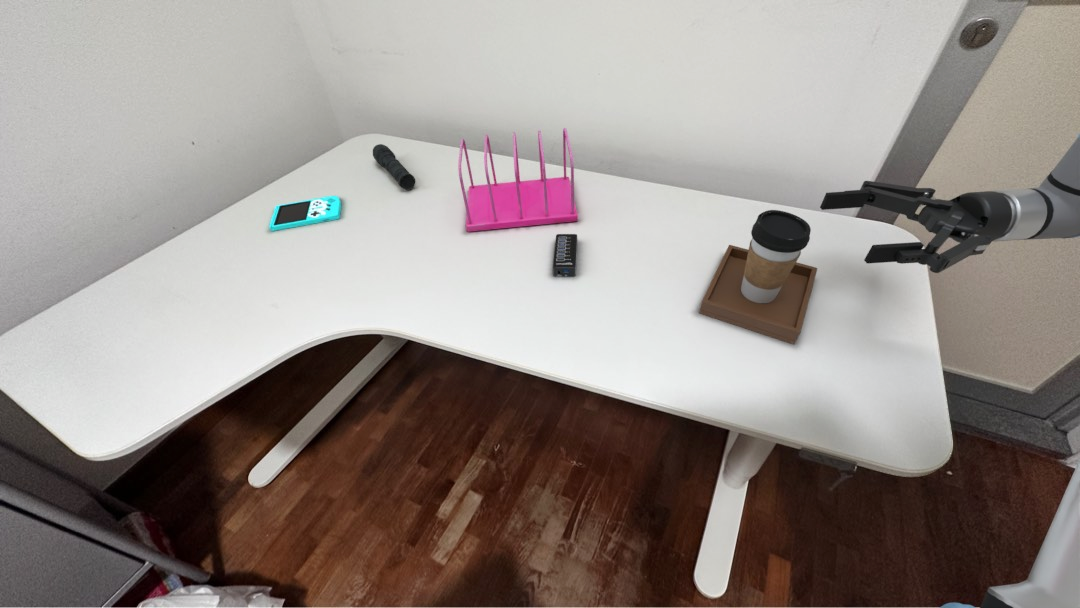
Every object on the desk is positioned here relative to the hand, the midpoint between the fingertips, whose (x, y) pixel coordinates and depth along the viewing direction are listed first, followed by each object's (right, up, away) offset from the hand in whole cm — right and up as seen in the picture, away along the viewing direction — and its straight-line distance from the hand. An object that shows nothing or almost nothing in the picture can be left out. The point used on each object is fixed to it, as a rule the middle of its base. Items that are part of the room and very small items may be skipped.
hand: (844, 226), depth 68 cm
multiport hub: (-40, -3, +25) cm, 48 cm away
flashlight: (-85, +23, +55) cm, 103 cm away
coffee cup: (-7, -10, +14) cm, 18 cm away
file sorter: (-50, +11, +40) cm, 65 cm away
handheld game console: (-103, +10, +44) cm, 112 cm away
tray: (-7, -10, +14) cm, 19 cm away
